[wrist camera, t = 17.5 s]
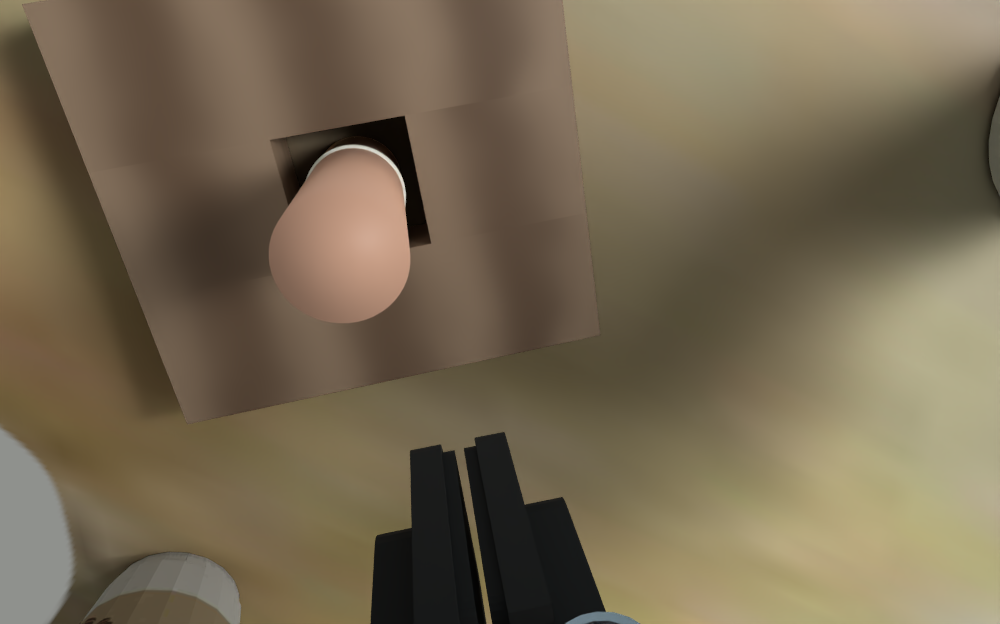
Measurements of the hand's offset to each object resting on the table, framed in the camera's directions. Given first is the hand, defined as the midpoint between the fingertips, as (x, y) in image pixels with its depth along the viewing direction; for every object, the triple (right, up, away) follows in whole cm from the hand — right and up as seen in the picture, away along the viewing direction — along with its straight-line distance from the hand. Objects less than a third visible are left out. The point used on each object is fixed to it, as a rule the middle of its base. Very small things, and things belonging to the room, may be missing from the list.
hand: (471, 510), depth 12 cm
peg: (-6, +10, +21) cm, 24 cm away
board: (-6, +10, +21) cm, 24 cm away
